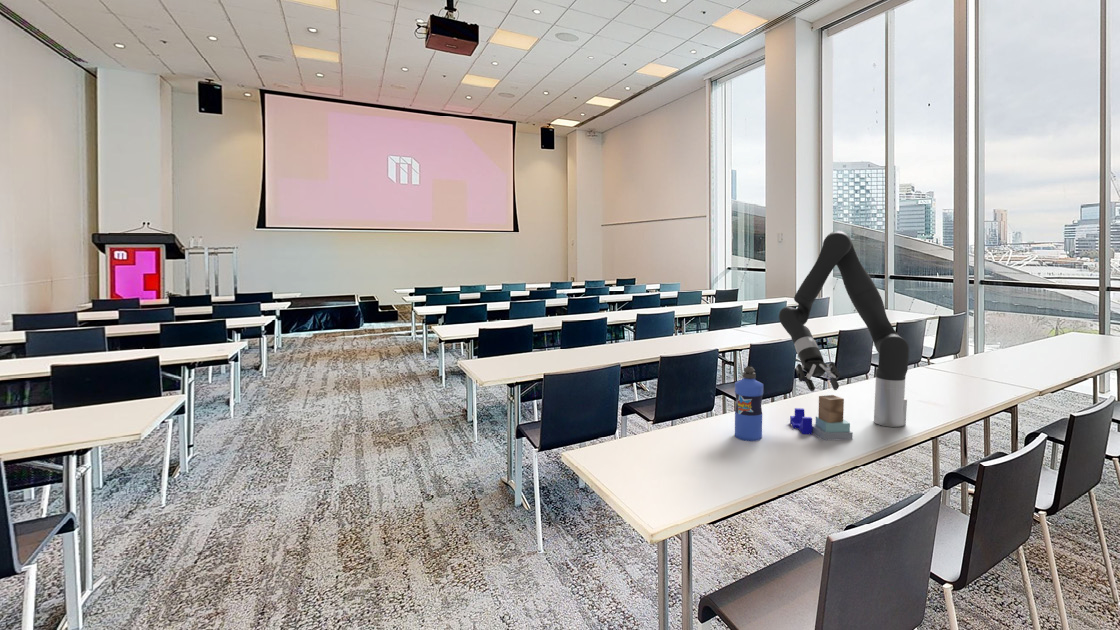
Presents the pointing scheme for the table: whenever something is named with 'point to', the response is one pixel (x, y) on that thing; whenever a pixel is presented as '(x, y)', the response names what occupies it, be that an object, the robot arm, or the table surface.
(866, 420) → the table surface
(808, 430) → the cable clip
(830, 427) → the teal top slab
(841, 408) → the walnut block
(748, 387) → the water bottle
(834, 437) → the slate base slab
